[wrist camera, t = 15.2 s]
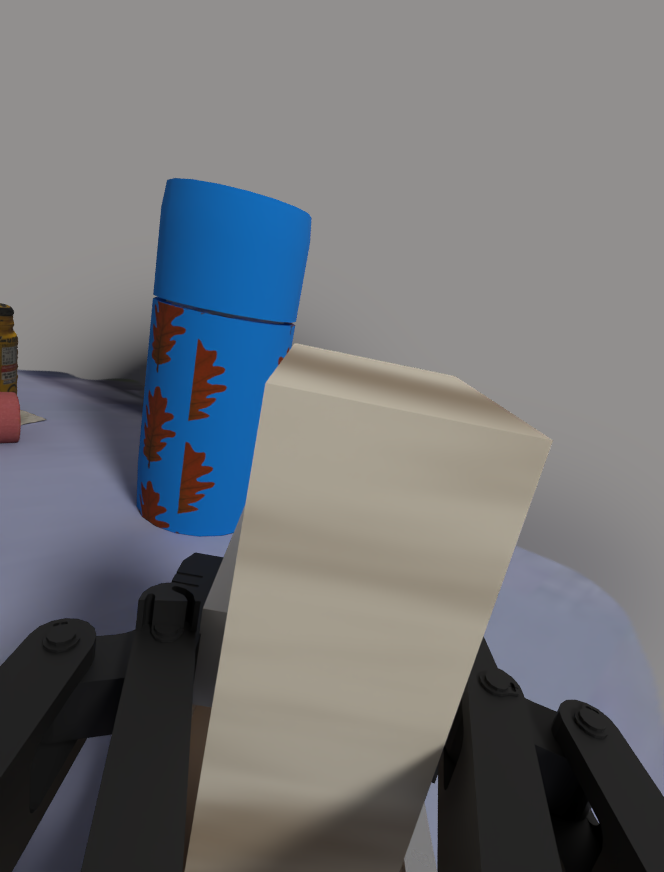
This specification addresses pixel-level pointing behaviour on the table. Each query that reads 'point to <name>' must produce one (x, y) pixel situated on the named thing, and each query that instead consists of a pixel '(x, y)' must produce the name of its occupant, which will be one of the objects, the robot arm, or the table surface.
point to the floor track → (416, 863)
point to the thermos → (214, 348)
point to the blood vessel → (9, 417)
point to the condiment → (10, 359)
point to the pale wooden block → (354, 609)
